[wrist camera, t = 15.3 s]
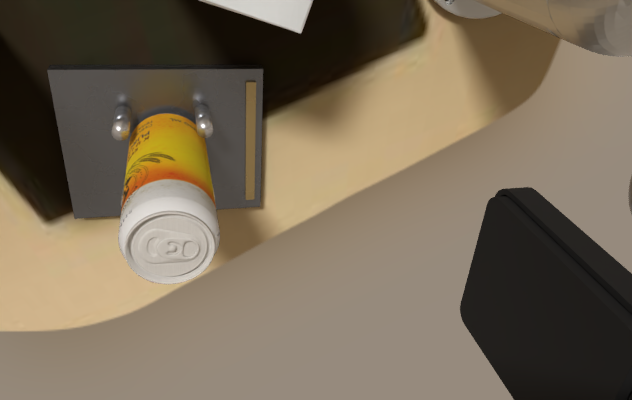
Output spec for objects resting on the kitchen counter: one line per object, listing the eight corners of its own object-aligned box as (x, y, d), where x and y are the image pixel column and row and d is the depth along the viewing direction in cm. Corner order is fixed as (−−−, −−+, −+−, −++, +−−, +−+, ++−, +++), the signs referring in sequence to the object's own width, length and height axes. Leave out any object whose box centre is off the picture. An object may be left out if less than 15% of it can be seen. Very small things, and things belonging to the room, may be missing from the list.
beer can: (132, 104, 43) (120, 202, 30) (210, 114, 45) (228, 211, 32) (126, 172, 46) (113, 287, 33) (200, 179, 48) (214, 290, 35)
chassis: (260, 64, 45) (271, 85, 40) (258, 200, 51) (267, 230, 47) (50, 64, 41) (37, 88, 37) (76, 211, 48) (68, 245, 43)
